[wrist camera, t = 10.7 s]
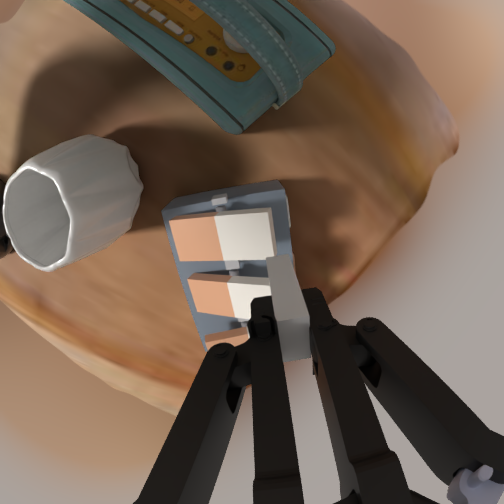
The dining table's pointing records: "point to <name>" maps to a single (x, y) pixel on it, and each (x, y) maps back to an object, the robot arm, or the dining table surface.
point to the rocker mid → (227, 293)
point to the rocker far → (229, 336)
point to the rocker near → (225, 235)
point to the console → (233, 200)
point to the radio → (220, 49)
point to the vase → (71, 201)
